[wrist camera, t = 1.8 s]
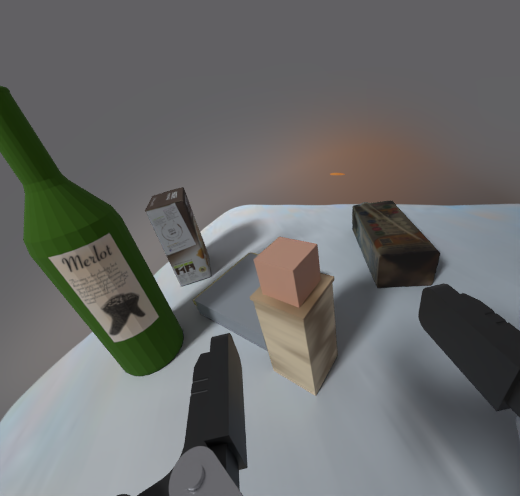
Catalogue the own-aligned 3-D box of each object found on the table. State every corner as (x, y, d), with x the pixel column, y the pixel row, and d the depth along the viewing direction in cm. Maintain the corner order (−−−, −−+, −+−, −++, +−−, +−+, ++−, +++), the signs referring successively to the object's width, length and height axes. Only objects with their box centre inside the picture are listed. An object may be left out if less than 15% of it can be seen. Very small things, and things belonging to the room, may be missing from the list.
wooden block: (297, 335, 33) (283, 262, 27) (339, 355, 30) (334, 276, 24) (272, 371, 30) (249, 296, 24) (316, 397, 26) (303, 318, 20)
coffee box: (212, 276, 49) (183, 200, 41) (180, 287, 48) (143, 211, 40) (209, 254, 57) (183, 186, 48) (181, 263, 56) (150, 195, 48)
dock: (253, 264, 50) (249, 251, 48) (319, 283, 41) (317, 269, 39) (198, 312, 41) (192, 299, 39) (267, 351, 32) (263, 336, 31)
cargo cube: (285, 269, 26) (279, 236, 24) (320, 279, 24) (317, 244, 22) (262, 293, 24) (253, 259, 22) (299, 307, 21) (292, 270, 19)
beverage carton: (391, 225, 52) (394, 195, 48) (436, 288, 36) (444, 249, 32) (351, 230, 53) (350, 201, 50) (377, 292, 37) (378, 256, 34)
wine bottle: (134, 391, 31) (-123, 88, 14) (115, 352, 37) (-80, 108, 21) (195, 343, 36) (52, 69, 19) (169, 315, 42) (44, 90, 25)
